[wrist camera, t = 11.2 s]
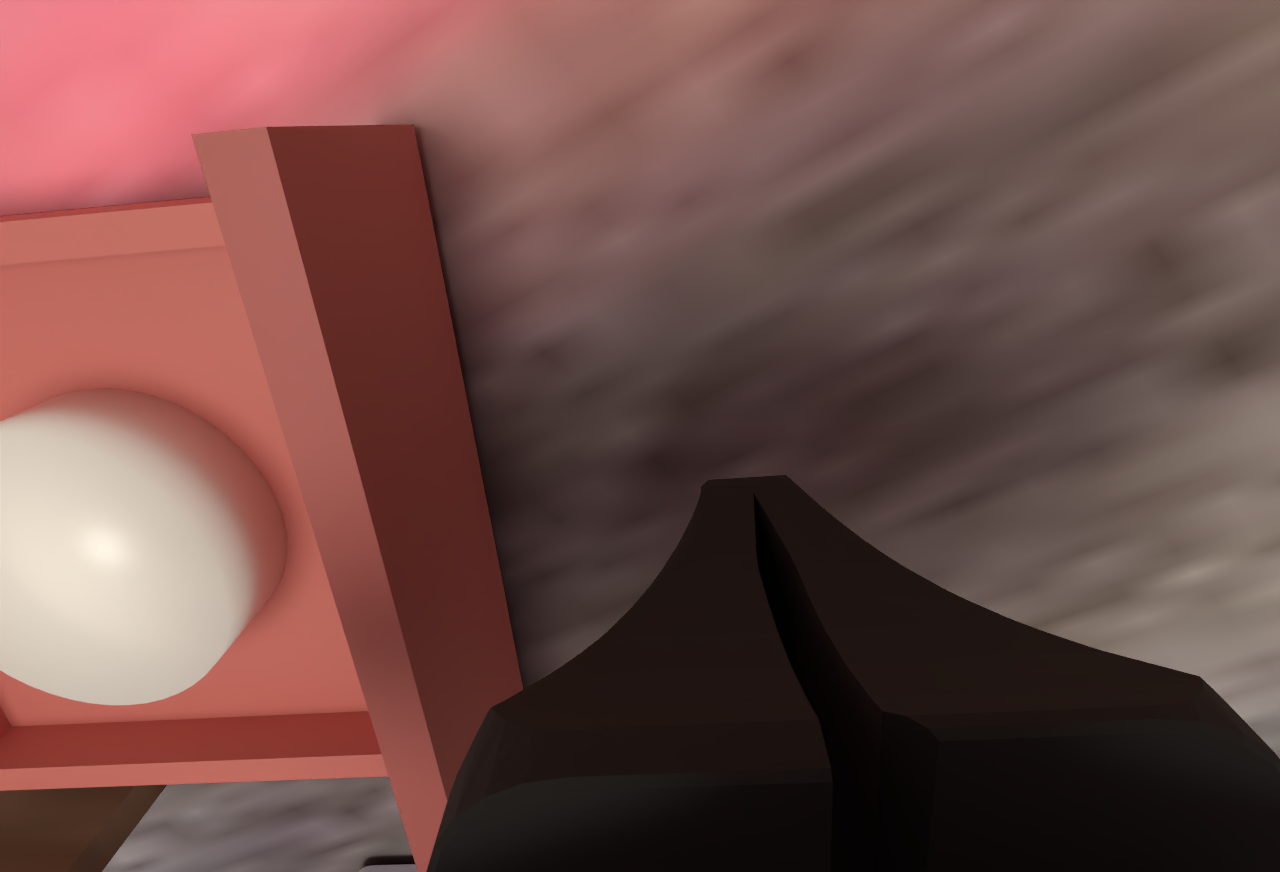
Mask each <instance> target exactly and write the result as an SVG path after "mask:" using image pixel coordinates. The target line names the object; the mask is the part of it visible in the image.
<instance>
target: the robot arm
mask: <svg viewBox="0 0 1280 872" xmlns="http://www.w3.org/2000/svg"><path fill="white" fill-rule="evenodd" d="M359 872H418V871H417V868H416V864H399V865H371V866H366V867H364V868H362V869H360V870H359ZM426 872H1280V759H1279V758H1278V756H1277V755H1276V754H1275V753H1274V752H1273V750H1272V749H1271V748H1270V747H1269V746H1268V745H1267V744H1266V743H1265V742H1264V741H1263V740H1262V739H1261V738H1260V737H1259V736H1258V735H1257V734H1256V733H1255V732H1254V731H1253V730H1252V729H1251V728H1250V726H1249V725H1248V724H1247V723H1246V722H1245V721H1244V720H1243V719H1242V718H1241V717H1240V716H1239V715H1238V714H1237V713H1236V712H1235V711H1234V710H1233V709H1232V708H1231V707H1230V706H1229V705H1228V704H1227V703H1226V702H1225V701H1224V700H1223V699H1222V698H1221V697H1220V696H1219V695H1218V694H1217V693H1216V692H1215V690H1214V689H1212V688H1211V687H1210V686H1209V685H1208V684H1207V683H1206V682H1205V681H1204V680H1203V679H1202V678H1201V677H1200V676H1196V675H1192V674H1188V673H1184V672H1181V671H1177V670H1173V669H1169V668H1165V667H1162V666H1158V665H1154V664H1150V663H1146V662H1143V661H1139V660H1135V659H1131V658H1127V657H1124V656H1120V655H1116V654H1112V653H1108V652H1105V651H1101V650H1098V649H1095V648H1091V647H1088V646H1085V645H1082V644H1079V643H1076V642H1073V641H1070V640H1067V639H1064V638H1061V637H1058V636H1056V635H1053V634H1050V633H1047V632H1044V631H1041V630H1038V629H1035V628H1033V627H1030V626H1028V625H1025V624H1022V623H1020V622H1017V621H1014V620H1012V619H1009V618H1007V617H1004V616H1002V615H1000V614H998V613H995V612H993V611H991V610H988V609H986V608H984V607H982V606H979V605H977V604H975V603H972V602H970V601H968V600H966V599H963V598H961V597H959V596H957V595H955V594H953V593H951V592H949V591H947V590H945V589H943V588H941V587H939V586H938V585H936V584H934V583H932V582H930V581H929V580H927V579H925V578H923V577H921V576H919V575H918V574H916V573H914V572H912V571H910V570H909V569H907V568H905V567H904V566H902V565H900V564H899V563H897V562H895V561H894V560H892V559H891V558H889V557H888V556H886V555H885V554H883V553H882V552H880V551H879V550H877V549H876V548H875V547H873V546H872V545H870V544H869V543H867V542H866V541H864V540H863V539H862V538H860V537H859V536H858V535H856V534H855V533H853V532H852V531H851V530H849V529H848V528H847V527H846V526H844V525H843V524H842V523H841V522H839V521H838V520H837V519H836V518H834V517H833V516H832V515H831V514H829V513H828V512H827V511H826V510H825V509H823V508H822V507H821V506H820V505H819V504H818V503H817V502H815V501H814V500H813V499H812V498H811V497H810V496H809V495H808V494H807V493H805V492H804V491H803V490H802V489H801V488H800V487H799V486H798V485H796V484H795V483H794V482H793V481H792V480H791V479H790V478H789V477H787V476H786V475H781V476H765V477H749V478H733V479H716V480H708V481H707V482H706V483H705V484H704V485H703V486H702V487H701V495H700V498H699V502H698V504H697V507H696V510H695V512H694V514H693V517H692V519H691V521H690V523H689V525H688V527H687V529H686V531H685V533H684V535H683V537H682V539H681V540H680V542H679V544H678V546H677V547H676V549H675V550H674V552H673V554H672V555H671V557H670V558H669V560H668V561H667V563H666V564H665V566H664V567H663V569H662V571H661V572H660V573H659V575H658V576H657V577H656V579H655V580H654V581H653V583H652V584H651V585H650V587H649V588H648V589H647V590H646V592H645V593H644V594H643V595H642V596H641V597H640V599H639V600H638V601H637V602H636V603H635V604H634V606H633V607H632V608H631V609H630V610H629V611H628V612H627V613H626V614H625V615H624V616H623V617H622V618H621V619H620V620H619V621H618V622H617V623H616V624H615V625H614V626H613V627H612V628H611V629H610V630H609V631H608V632H607V633H605V634H604V635H603V636H602V637H601V638H600V639H598V640H597V641H596V642H595V643H593V644H592V645H591V646H589V647H588V648H587V649H586V650H584V651H583V652H582V653H580V654H579V655H577V656H576V657H575V658H573V659H572V660H570V661H569V662H568V663H566V664H565V665H563V666H562V667H560V668H559V669H557V670H556V671H554V672H553V673H551V674H550V675H548V676H546V677H545V678H543V679H541V680H539V681H538V682H536V683H534V684H532V685H531V686H529V687H527V688H525V689H524V690H522V691H520V692H518V693H517V694H515V695H513V696H511V697H510V698H508V699H506V700H504V701H503V702H501V703H499V704H497V705H495V706H493V707H491V708H490V709H489V710H488V712H487V714H486V716H485V718H484V720H483V722H482V724H481V726H480V728H479V730H478V732H477V734H476V736H475V738H474V740H473V742H472V744H471V746H470V748H469V750H468V752H467V754H466V757H465V759H464V761H463V763H462V765H461V767H460V769H459V771H458V773H457V776H456V778H455V781H454V784H453V786H452V789H451V791H450V794H449V797H448V801H447V804H446V807H445V811H444V814H443V817H442V821H441V824H440V827H439V831H438V834H437V837H436V841H435V844H434V847H433V851H432V854H431V858H430V861H429V864H428V868H427V871H426Z"/></svg>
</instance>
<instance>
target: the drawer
mask: <svg viewBox="0 0 1280 872" xmlns="http://www.w3.org/2000/svg"><path fill="white" fill-rule="evenodd" d="M191 135H192V138H193V141H194V145H195V148H196V151H197V154H198V158H199V161H200V164H201V167H202V171H203V174H204V177H205V180H206V184H207V187H208V190H209V194H210V197H202V198H191V199H180V200H169V201H158V202H148V203H137V204H126V205H115V206H105V207H94V208H83V209H72V210H61V211H51V212H40V213H29V214H18V215H8V216H0V421H3V420H5V419H7V418H9V417H11V416H14V415H16V414H18V413H20V412H23V411H25V410H27V409H29V408H31V407H34V406H36V405H38V404H40V403H42V402H45V401H47V400H49V399H51V398H54V397H56V396H59V395H62V394H66V393H69V392H72V391H78V390H85V389H98V388H112V389H121V390H130V391H135V392H139V393H144V394H148V395H152V396H155V397H158V398H160V399H163V400H166V401H169V402H172V403H174V404H176V405H178V406H180V407H183V408H185V409H187V410H189V411H191V412H192V413H194V414H196V415H198V416H199V417H201V418H203V419H204V420H206V421H208V422H209V423H211V424H212V425H213V426H215V427H216V428H217V429H219V430H220V431H221V432H223V433H224V434H225V435H227V436H228V437H229V438H230V439H231V440H232V441H233V442H234V443H235V444H237V445H238V446H239V447H240V448H241V449H242V450H243V451H244V453H245V454H246V455H247V456H248V457H249V458H250V459H251V460H252V461H253V463H254V464H255V465H256V467H257V468H258V469H259V471H260V472H261V474H262V475H263V476H264V478H265V479H266V481H267V483H268V485H269V486H270V488H271V490H272V492H273V493H274V495H275V498H276V500H277V503H278V505H279V508H280V510H281V513H282V517H283V521H284V525H285V530H286V539H287V553H286V562H285V567H284V571H283V574H282V577H281V579H280V582H279V584H278V586H277V588H276V590H275V591H274V593H273V594H272V596H271V598H270V599H269V600H268V601H267V602H266V604H265V605H264V606H263V607H262V608H261V610H260V611H259V612H258V613H257V614H256V616H255V617H254V618H253V619H252V620H251V622H250V623H249V624H248V625H247V626H246V628H245V629H244V630H243V631H242V632H241V634H240V635H239V636H238V637H237V639H236V640H235V641H234V642H233V643H232V645H231V646H230V647H229V648H228V649H227V651H226V652H225V653H224V654H223V655H222V657H221V658H220V659H219V660H218V661H217V663H216V664H215V665H214V666H213V667H212V668H211V670H210V671H209V672H208V673H207V674H206V675H205V676H204V677H203V678H202V679H200V680H199V681H198V682H197V683H195V684H194V685H193V686H191V687H189V688H187V689H186V690H184V691H182V692H180V693H178V694H176V695H173V696H170V697H168V698H165V699H162V700H158V701H154V702H149V703H144V704H135V705H102V704H92V703H86V702H81V701H76V700H71V699H67V698H64V697H60V696H57V695H53V694H50V693H47V692H45V691H42V690H39V689H37V688H34V687H32V686H29V685H27V684H25V683H23V682H21V681H19V680H17V679H15V678H13V677H11V676H9V675H7V674H5V673H4V672H2V671H0V791H5V790H32V789H59V788H86V787H113V786H139V785H166V784H193V783H220V782H246V781H273V780H300V779H327V778H353V777H380V776H389V780H390V783H391V786H392V790H393V793H394V796H395V799H396V803H397V806H398V809H399V812H400V816H401V819H402V822H403V825H404V829H405V832H406V835H407V838H408V842H409V845H410V848H411V851H412V855H413V858H414V861H415V864H416V868H417V871H418V872H426V871H427V868H428V864H429V861H430V858H431V854H432V851H433V847H434V844H435V841H436V837H437V834H438V831H439V827H440V824H441V821H442V817H443V814H444V811H445V807H446V804H447V801H448V797H449V794H450V791H451V789H452V786H453V784H454V781H455V778H456V776H457V773H458V771H459V769H460V767H461V765H462V763H463V761H464V759H465V757H466V754H467V752H468V750H469V748H470V746H471V744H472V742H473V740H474V738H475V736H476V734H477V732H478V730H479V728H480V726H481V724H482V722H483V720H484V718H485V716H486V714H487V712H488V710H489V709H490V708H491V707H493V706H495V705H497V704H499V703H501V702H503V701H504V700H506V699H508V698H510V697H511V696H513V695H515V694H517V693H518V692H520V691H522V690H523V685H522V680H521V675H520V670H519V665H518V660H517V654H516V649H515V644H514V639H513V634H512V629H511V624H510V618H509V613H508V608H507V603H506V598H505V593H504V588H503V582H502V577H501V572H500V567H499V562H498V557H497V552H496V546H495V541H494V536H493V531H492V526H491V521H490V515H489V510H488V505H487V500H486V495H485V490H484V485H483V479H482V474H481V469H480V464H479V459H478V454H477V449H476V443H475V438H474V433H473V428H472V423H471V418H470V413H469V407H468V402H467V397H466V392H465V387H464V382H463V377H462V371H461V366H460V361H459V356H458V351H457V346H456V340H455V335H454V330H453V325H452V320H451V315H450V310H449V304H448V299H447V294H446V289H445V284H444V279H443V274H442V268H441V263H440V258H439V253H438V248H437V243H436V238H435V232H434V227H433V222H432V217H431V212H430V207H429V202H428V196H427V191H426V186H425V181H424V176H423V171H422V165H421V160H420V155H419V150H418V145H417V140H416V135H415V129H414V125H356V126H296V127H261V128H251V129H241V130H231V131H221V132H211V133H201V134H191Z"/></svg>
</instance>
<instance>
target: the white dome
mask: <svg viewBox="0 0 1280 872" xmlns="http://www.w3.org/2000/svg"><path fill="white" fill-rule="evenodd" d="M286 553H287V539H286V530H285V525H284V521H283V517H282V513H281V510H280V508H279V505H278V503H277V500H276V498H275V495H274V493H273V492H272V490H271V488H270V486H269V485H268V483H267V481H266V479H265V478H264V476H263V475H262V474H261V472H260V471H259V469H258V468H257V467H256V465H255V464H254V463H253V461H252V460H251V459H250V458H249V457H248V456H247V455H246V454H245V453H244V451H243V450H242V449H241V448H240V447H239V446H238V445H237V444H235V443H234V442H233V441H232V440H231V439H230V438H229V437H228V436H227V435H225V434H224V433H223V432H221V431H220V430H219V429H217V428H216V427H215V426H213V425H212V424H211V423H209V422H208V421H206V420H204V419H203V418H201V417H199V416H198V415H196V414H194V413H192V412H191V411H189V410H187V409H185V408H183V407H180V406H178V405H176V404H174V403H172V402H169V401H166V400H163V399H160V398H158V397H155V396H152V395H148V394H144V393H139V392H135V391H130V390H121V389H112V388H98V389H85V390H78V391H72V392H69V393H66V394H62V395H59V396H56V397H54V398H51V399H49V400H47V401H45V402H42V403H40V404H38V405H36V406H34V407H31V408H29V409H27V410H25V411H23V412H20V413H18V414H16V415H14V416H11V417H9V418H7V419H5V420H3V421H0V671H2V672H4V673H5V674H7V675H9V676H11V677H13V678H15V679H17V680H19V681H21V682H23V683H25V684H27V685H29V686H32V687H34V688H37V689H39V690H42V691H45V692H47V693H50V694H53V695H57V696H60V697H64V698H67V699H71V700H76V701H81V702H86V703H92V704H102V705H135V704H144V703H149V702H154V701H158V700H162V699H165V698H168V697H170V696H173V695H176V694H178V693H180V692H182V691H184V690H186V689H187V688H189V687H191V686H193V685H194V684H195V683H197V682H198V681H199V680H200V679H202V678H203V677H204V676H205V675H206V674H207V673H208V672H209V671H210V670H211V668H212V667H213V666H214V665H215V664H216V663H217V661H218V660H219V659H220V658H221V657H222V655H223V654H224V653H225V652H226V651H227V649H228V648H229V647H230V646H231V645H232V643H233V642H234V641H235V640H236V639H237V637H238V636H239V635H240V634H241V632H242V631H243V630H244V629H245V628H246V626H247V625H248V624H249V623H250V622H251V620H252V619H253V618H254V617H255V616H256V614H257V613H258V612H259V611H260V610H261V608H262V607H263V606H264V605H265V604H266V602H267V601H268V600H269V599H270V598H271V596H272V594H273V593H274V591H275V590H276V588H277V586H278V584H279V582H280V579H281V577H282V574H283V571H284V567H285V562H286Z"/></svg>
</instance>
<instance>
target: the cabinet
mask: <svg viewBox="0 0 1280 872" xmlns="http://www.w3.org/2000/svg"><path fill="white" fill-rule="evenodd" d="M166 785H167V784H166ZM166 785H139V786H113V787H86V788H59V789H32V790H5V791H0V872H102V871H103V869H104V868H105V867H106V865H107V864H108V863H109V861H110V860H111V859H112V857H113V856H114V855H115V853H116V852H117V851H118V849H119V848H120V847H121V845H122V844H123V843H124V841H125V840H126V839H127V837H128V836H129V835H130V833H131V832H132V831H133V829H134V828H135V827H136V825H137V824H138V823H139V821H140V820H141V819H142V817H143V816H144V815H145V813H146V812H147V811H148V809H149V808H150V807H151V805H152V804H153V803H154V801H155V800H156V799H157V797H158V796H159V795H160V793H161V792H162V791H163V789H164V788H165V787H166Z"/></svg>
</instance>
